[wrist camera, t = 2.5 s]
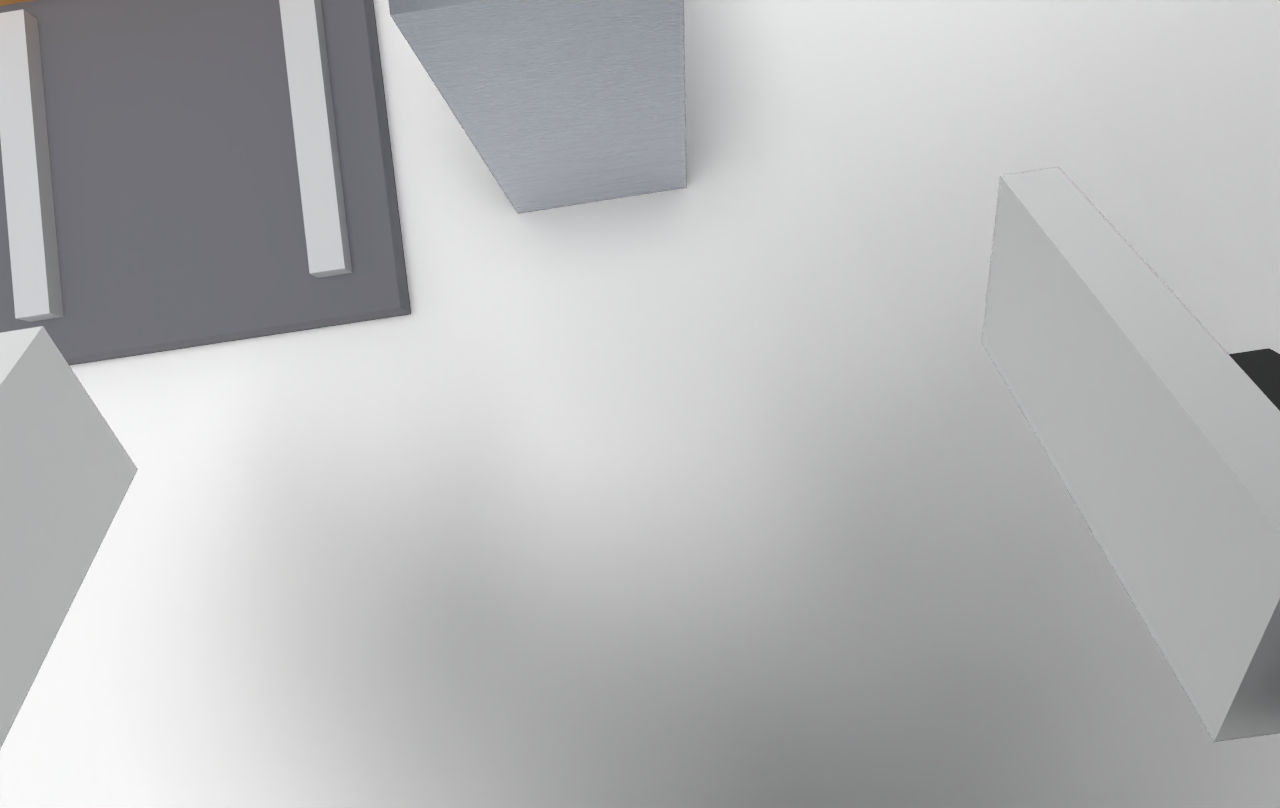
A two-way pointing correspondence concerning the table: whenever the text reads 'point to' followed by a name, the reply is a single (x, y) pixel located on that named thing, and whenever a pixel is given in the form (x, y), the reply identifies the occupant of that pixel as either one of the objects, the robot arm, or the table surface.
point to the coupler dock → (193, 172)
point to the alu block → (561, 91)
